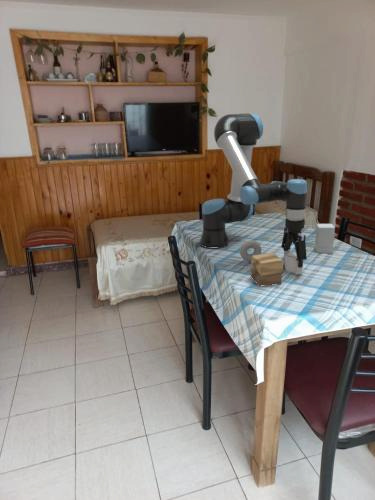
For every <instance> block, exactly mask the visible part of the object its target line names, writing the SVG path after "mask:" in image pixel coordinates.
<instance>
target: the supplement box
mask: <svg viewBox="0 0 375 500" xmlns="http://www.w3.org/2000/svg"><path fill="white" fill-rule="evenodd" d="M315 227H316V228H315V240H314V250H315V252H316V253H318V254H333V251H334V244H335V241H334V240H335V230H336V227H335V226H334V224H333V223H316V226H315Z"/></svg>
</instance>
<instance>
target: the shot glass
mask: <svg viewBox="0 0 375 500" xmlns="http://www.w3.org/2000/svg"><path fill="white" fill-rule="evenodd" d="M296 259H297V255H296V251H291V252H287V253H285V265H284V268H285V271H286V272H289V273H295V268H296Z"/></svg>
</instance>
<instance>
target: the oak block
mask: <svg viewBox="0 0 375 500" xmlns="http://www.w3.org/2000/svg"><path fill="white" fill-rule="evenodd" d="M250 262H251V267H252V268H253V269H254V270H255V271H256V272H258V273H259V274H260V275H261V276H262V275H268V274H275V273H281V272H282V273H283V272H284V265H283V263H284V259H282V258H281V257H279V256H278V255H276V254H274V253H273V252H270V253H261V254H260V255H253V256H252V261H250ZM251 267H250V268H251Z"/></svg>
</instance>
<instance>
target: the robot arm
mask: <svg viewBox="0 0 375 500" xmlns="http://www.w3.org/2000/svg"><path fill="white" fill-rule="evenodd" d="M263 134H264V124H263V121H262V119H261V117H260V116H259V115H258V114H256V113H248V112H247V113H235V114H233V113H230V114H225V115H223V116H222V117H221V118H220V119H218V121H216V124H215V127H214V130H213V135H214V141H215V143H216V145H217V147H218V148H220V149H221V151H222V152H223V155H224V156H225V157H226V160H227V162H228V163H229V165H230V168H231V170H232V174H231V185H230V193H229V194H227V195H226V196H227V198H226V200H225V199H224V198H213V199H209V200H207V201H205V202H203V204H202V207H201V208H202V211H201V213H202V232H201V237H200V239H199V244H201V245H203V246H206V247H223V248H225V247H224V246H226V247H228V246H229V245H228V244H229V242H230V241H229V237H228V234H227V231H226V224H232V223H238V222H244V221H247V220H249V219H250V218H251V217H252V216H253V213H254V205H256V204H262V203H263V204H264V203H269V202H270V203H271V202H277V201H282V202H285V203H286V206H285V221H284V222H285V224H284V226H285V227H284V228H283V236H282V240H281V241H282V242H281V246H280V247H281V249H283V266H285V253H287V252H292V251H291V250H292V249H291V247H292V244H293V245H294V249H295V252H296V255H297V259H296V268H295V272H294V274H295V275H303V265H304V261H305V260H307V259H308V258H307V247H306V246H307V245H306V239H307V236H306V234H302V230H303V229H304V228H305V223H306V219H305V218H306V211H307V210H306V207H307V193H308V182H307V180H305V179H303V178H301V179H300V178H299V179H298V178H293V179H289V180H287V182H283V181H281V180H278V181H277V180H275V181H271V182H269V183H263V184H262V183H261V182H260V181H259V179H258V177H257V175H256V174H255V172H254V170H253V168H252V166H251V164H252V157H253V150H254V149H253V148H254V147H255V146H256V145H257V142H258V140H259V139H261V137H262V136H263ZM201 245H200V246H201ZM227 245H228V246H227Z"/></svg>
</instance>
